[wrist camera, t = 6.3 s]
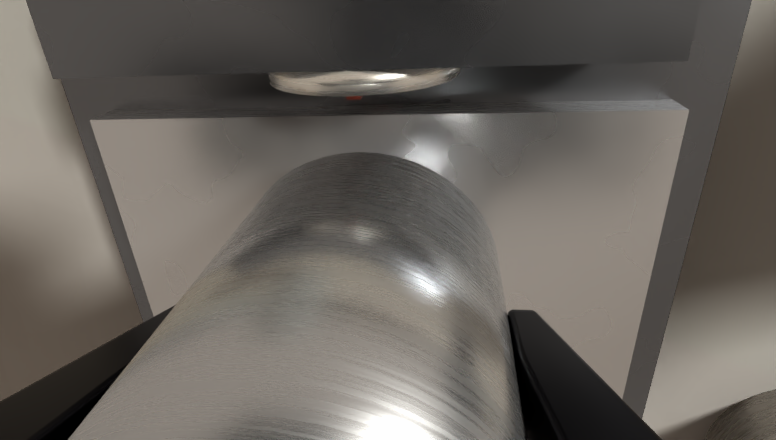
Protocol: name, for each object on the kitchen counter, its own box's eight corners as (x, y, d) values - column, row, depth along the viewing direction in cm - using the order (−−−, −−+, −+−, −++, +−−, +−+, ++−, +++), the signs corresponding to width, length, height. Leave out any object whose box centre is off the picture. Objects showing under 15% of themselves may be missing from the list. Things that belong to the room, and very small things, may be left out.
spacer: (492, 375, 11) (535, 790, 5) (265, 364, 11) (98, 729, 6) (507, 150, 8) (607, 486, 3) (220, 152, 9) (-117, 436, 4)
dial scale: (709, -83, 10) (901, -116, 6) (602, 422, 17) (655, 579, 13) (93, -46, 12) (-112, -51, 8) (218, 401, 19) (148, 535, 14)
